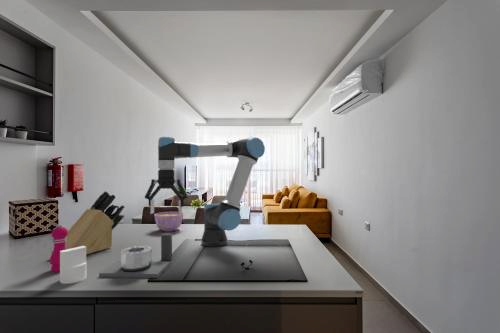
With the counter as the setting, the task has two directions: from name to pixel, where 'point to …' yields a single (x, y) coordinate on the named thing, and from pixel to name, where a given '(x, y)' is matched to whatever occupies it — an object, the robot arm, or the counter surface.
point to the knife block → (95, 226)
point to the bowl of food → (168, 220)
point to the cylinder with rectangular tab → (73, 265)
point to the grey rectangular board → (151, 272)
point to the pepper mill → (58, 246)
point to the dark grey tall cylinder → (166, 247)
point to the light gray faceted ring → (136, 258)
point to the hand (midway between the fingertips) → (166, 213)
